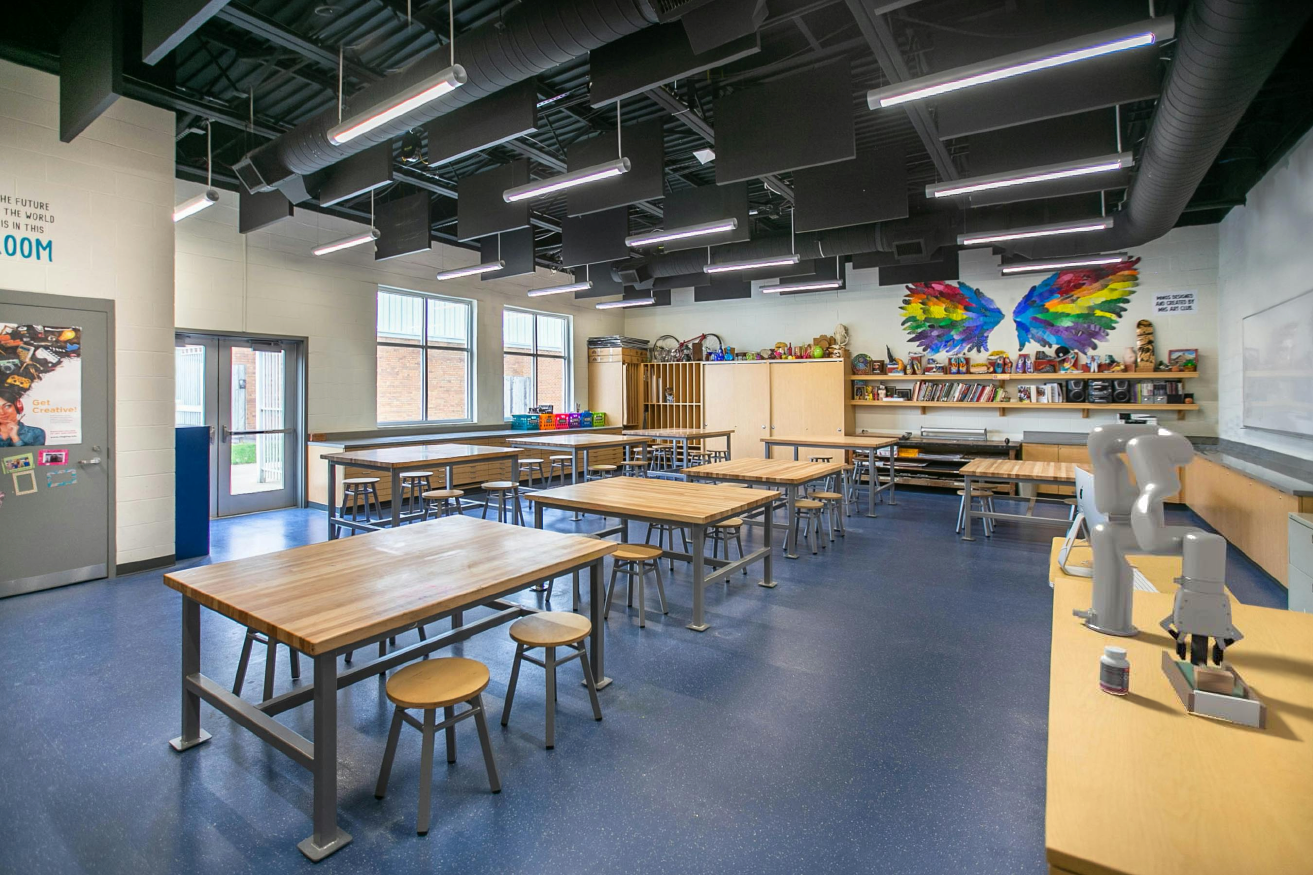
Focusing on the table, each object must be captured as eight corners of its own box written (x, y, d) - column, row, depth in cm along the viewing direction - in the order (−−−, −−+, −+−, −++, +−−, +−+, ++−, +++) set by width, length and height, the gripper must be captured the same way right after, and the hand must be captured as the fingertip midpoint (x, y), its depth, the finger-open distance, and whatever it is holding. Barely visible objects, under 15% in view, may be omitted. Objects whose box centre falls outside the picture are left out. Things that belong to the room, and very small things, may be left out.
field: (1187, 713, 128) (1188, 690, 127) (1161, 668, 150) (1162, 648, 150) (1265, 728, 122) (1266, 704, 121) (1225, 679, 144) (1226, 658, 144)
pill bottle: (1130, 698, 134) (1132, 655, 134) (1100, 692, 137) (1102, 650, 137) (1126, 688, 139) (1127, 647, 139) (1097, 683, 142) (1099, 642, 141)
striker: (1196, 688, 133) (1198, 652, 133) (1180, 663, 146) (1181, 630, 146) (1233, 694, 130) (1235, 658, 130) (1213, 669, 143) (1215, 635, 142)
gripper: (1159, 584, 143) (1155, 658, 144) (1257, 595, 135) (1253, 675, 135) (1152, 576, 150) (1149, 648, 151) (1246, 587, 141) (1242, 662, 142)
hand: (1198, 660), depth 143 cm, fingers open, 5 cm apart
